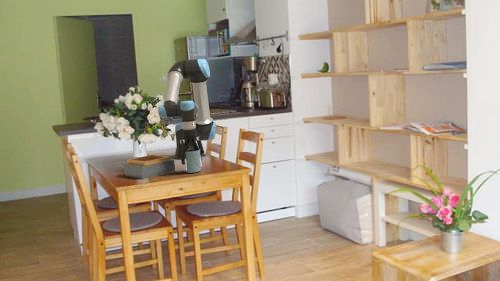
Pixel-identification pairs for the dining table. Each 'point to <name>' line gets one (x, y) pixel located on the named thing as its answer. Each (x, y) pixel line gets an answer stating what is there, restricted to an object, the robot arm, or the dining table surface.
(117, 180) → the dining table surface
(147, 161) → the grey rectangular box
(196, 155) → the green tapered cup
